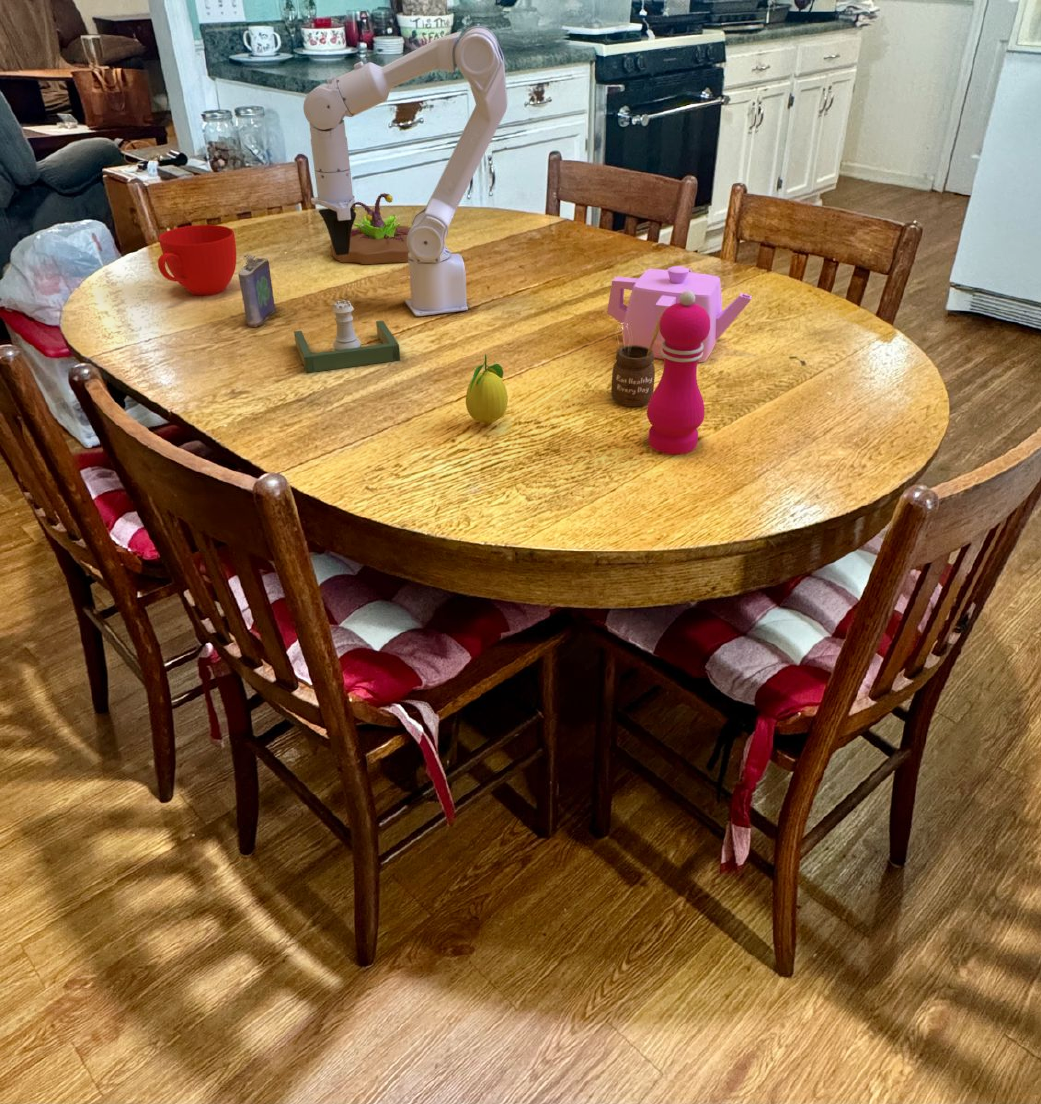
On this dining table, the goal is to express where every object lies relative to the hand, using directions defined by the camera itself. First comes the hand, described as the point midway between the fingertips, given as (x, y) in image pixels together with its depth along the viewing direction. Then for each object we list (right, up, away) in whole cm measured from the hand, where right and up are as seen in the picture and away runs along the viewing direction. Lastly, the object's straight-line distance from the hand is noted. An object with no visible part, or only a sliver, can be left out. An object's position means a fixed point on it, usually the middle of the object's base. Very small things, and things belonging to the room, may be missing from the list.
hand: (341, 253), depth 153 cm
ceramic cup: (-28, -3, +12) cm, 31 cm away
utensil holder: (+46, -29, -26) cm, 60 cm away
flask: (-14, -11, +1) cm, 18 cm away
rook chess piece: (+3, -20, -11) cm, 23 cm away
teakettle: (+55, -18, -9) cm, 59 cm away
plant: (+1, +12, +34) cm, 36 cm away
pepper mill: (+50, -37, -37) cm, 72 cm away
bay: (+3, -19, -11) cm, 22 cm away
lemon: (+26, -34, -32) cm, 54 cm away
